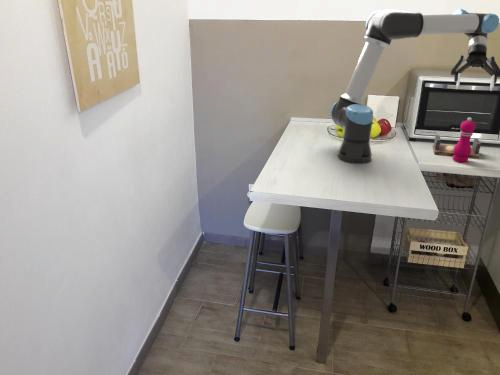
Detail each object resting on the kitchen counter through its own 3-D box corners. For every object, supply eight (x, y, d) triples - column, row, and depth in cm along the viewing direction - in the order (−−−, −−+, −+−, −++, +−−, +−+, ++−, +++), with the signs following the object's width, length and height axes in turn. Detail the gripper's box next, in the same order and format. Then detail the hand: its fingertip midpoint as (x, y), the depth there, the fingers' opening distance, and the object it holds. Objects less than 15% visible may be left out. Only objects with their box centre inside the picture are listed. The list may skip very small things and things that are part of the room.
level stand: (434, 154, 191) (436, 141, 188) (432, 146, 201) (434, 133, 198) (478, 158, 185) (482, 145, 182) (474, 150, 195) (477, 137, 193)
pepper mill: (470, 163, 179) (481, 119, 171) (453, 162, 181) (463, 119, 172) (466, 158, 186) (476, 115, 177) (449, 157, 187) (459, 114, 179)
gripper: (505, 55, 184) (503, 94, 177) (445, 53, 191) (442, 91, 185) (511, 44, 177) (509, 84, 170) (449, 42, 184) (445, 81, 178)
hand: (474, 88), depth 177 cm, fingers open, 13 cm apart
